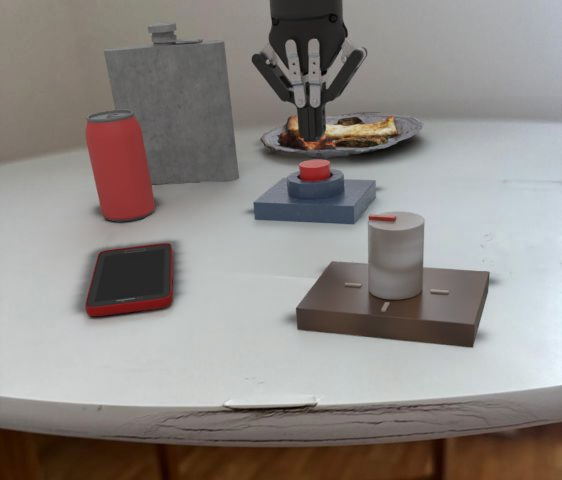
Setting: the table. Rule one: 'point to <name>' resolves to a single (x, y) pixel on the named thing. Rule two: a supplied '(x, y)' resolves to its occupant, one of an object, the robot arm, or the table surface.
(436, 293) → the panel
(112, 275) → the cell phone
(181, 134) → the hip flask
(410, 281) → the tap knob
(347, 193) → the button block
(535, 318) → the table surface
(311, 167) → the red button
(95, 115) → the beer can
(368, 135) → the food plate
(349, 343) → the table surface
